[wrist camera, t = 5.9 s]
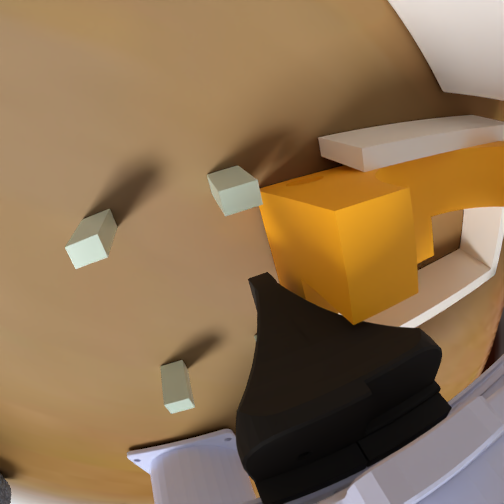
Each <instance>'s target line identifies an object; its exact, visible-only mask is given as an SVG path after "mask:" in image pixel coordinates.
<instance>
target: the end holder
mask: <svg viewBox="0 0 504 504" xmlns="http://www.w3.org/2000/svg"><path fill="white" fill-rule="evenodd" d="M318 140H319V146H320V152H321V156H322V157H324V158H327V159H330V160H333V161H336V162H338V163H341V164H344V165H347V166H349V167H352V168H355V169H357V170H360V171H362V172H367V171H371V170H375V169H379V168H383V167H387V166H390V165H394V164H398V163H402V162H407V161H411V160H415V159H419V158H423V157H427V156H432V155H436V154H440V153H445V152H449V151H454V150H458V149H463V148H467V147H472V146H477V145H482V144H487V143H491V142H496V141H504V122H502V121H498V120H494V119H490V118H485V117H480V116H476V115H463V116H452V117H442V118H432V119H424V120H416V121H409V122H401V123H395V124H388V125H382V126H375V127H370V128H364V129H358V130H353V131H347V132H342V133H337V134H332V135H327V136H322V137H318ZM503 235H504V207H478V208H469V209H464V216H463V226H462V235H461V243H460V248H459V249H457V250H456V251H454V252H452V253H450V254H448V255H446V256H444V257H443V258H441V259H439V260H437V261H435V262H433V263H431V264H429V265H427V266H425V267H423V268H421V269H419V270H418V293H417V294H415V295H413V296H411V297H409V298H408V299H406V300H404V301H402V302H400V303H398V304H396V305H394V306H392V307H390V308H388V309H386V310H384V311H382V312H380V313H378V314H376V315H374V316H372V317H370V318H368V319H366V320H364V321H365V322H370V323H375V324H381V325H387V326H395V327H409V328H415V327H417V326H419V325H420V324H422V323H424V322H425V321H427V320H429V319H430V318H432V317H434V316H435V315H437V314H438V313H440V312H442V311H443V310H445V309H446V308H448V307H449V306H451V305H452V304H454V303H455V302H457V301H459V300H460V299H462V298H463V297H464V296H466V295H467V294H469V293H470V292H472V291H473V290H475V289H476V288H477V287H479V286H480V285H482V284H483V283H484V282H486V281H487V280H489V279H490V278H491V277H493V276H494V275H495V273H496V268H497V264H498V260H499V255H500V251H501V246H502V241H503ZM338 314H340V313H338ZM340 315H342V314H340Z"/></svg>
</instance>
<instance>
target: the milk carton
mask: <svg viewBox="0 0 504 504" xmlns="http://www.w3.org/2000/svg"><path fill="white" fill-rule="evenodd" d="M388 2H389V3H390V4H391V6H392V7H393V8H394V10H395V11H396V13H397V14H398V16H399V17H400V19H401V20H402V21H403V23H404V24H405V26H406V28H407V29H408V31H409V32H410V34H411V35H412V37H413V38H414V40H415V42H416V43H417V45H418V47H419V48H420V50H421V52H422V53H423V55H424V57H425V59H426V61H427V62H428V64H429V66H430V68H431V70H432V71H433V73H434V75H435V77H436V79H437V81H438V83H439V85H440V87H441V89H442V91H443V92H448V93H457V94H465V95H472V96H479V97H485V98H491V99H497V100H502V101H504V0H388Z"/></svg>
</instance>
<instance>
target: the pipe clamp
mask: <svg viewBox="0 0 504 504" xmlns="http://www.w3.org/2000/svg"><path fill="white" fill-rule="evenodd" d="M260 193H261V198H262V202H263V205H260V206H259V208H260V212H261V215H262V219H263V223H264V226H265V230H266V234H267V237H268V241H269V245H270V249H271V252H272V256H273V260H274V264H275V267H276V271H277V275H278V279H279V282H280V285H282V286H283V287H285V288H286V289H288V290H289V291H291V292H293V293H295V294H296V295H298V296H300V297H301V298H303V299H305V300H307V301H309V302H311V303H313V304H315V305H317V306H319V307H322V308H324V309H326V310H329V311H332V312H334V313H340V314H342V315H343V316H344V317H345V318H346V319H347V320H348V321H349V322H350V323H352V324H353V325H355V324H357V323H359V322H361V321H364V320H366V319H368V318H370V317H372V316H374V315H376V314H378V313H380V312H382V311H384V310H386V309H388V308H390V307H392V306H394V305H396V304H398V303H400V302H402V301H404V300H406V299H408V298H409V297H411V296H413V295H415V294H417V293H418V268H417V264H418V263H420V262H422V261H423V260H425V259H427V258H429V257H432V256H434V249H433V233H432V221H431V217H432V216H435V215H439V214H442V213H446V212H451V211H456V210H462V209H469V208H478V207H504V141H496V142H491V143H487V144H482V145H477V146H472V147H467V148H463V149H458V150H454V151H449V152H445V153H440V154H436V155H432V156H427V157H423V158H419V159H415V160H411V161H407V162H402V163H398V164H394V165H390V166H387V167H383V168H379V169H375V170H371V171H367V172H362V171H360V170H357V169H355V168H352V167H349V166H347V165H344V166H340V167H336V168H332V169H328V170H324V171H321V172H317V173H313V174H309V175H306V176H302V177H298V178H295V179H291V180H288V181H284V182H281V183H277V184H274V185H270V186H267V187H263V188H260Z"/></svg>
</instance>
